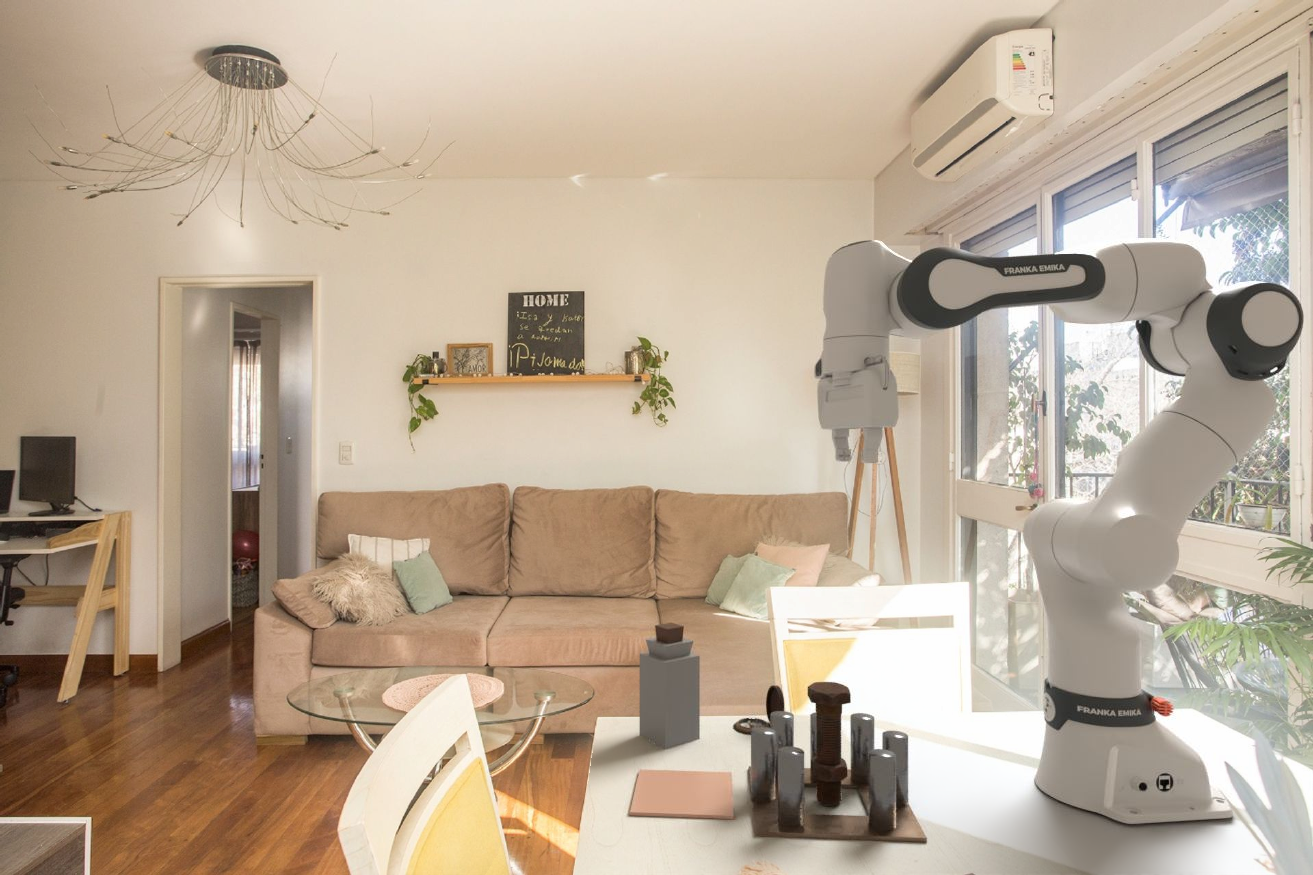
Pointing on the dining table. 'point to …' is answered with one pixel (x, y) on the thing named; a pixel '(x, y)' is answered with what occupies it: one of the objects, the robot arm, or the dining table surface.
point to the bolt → (828, 740)
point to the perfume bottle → (669, 688)
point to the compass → (772, 704)
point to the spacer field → (871, 772)
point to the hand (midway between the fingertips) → (855, 462)
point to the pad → (683, 794)
